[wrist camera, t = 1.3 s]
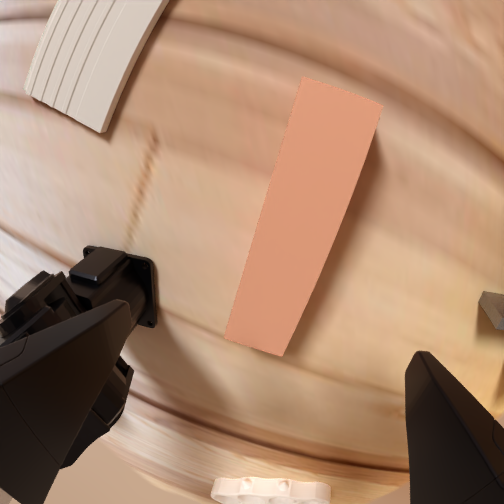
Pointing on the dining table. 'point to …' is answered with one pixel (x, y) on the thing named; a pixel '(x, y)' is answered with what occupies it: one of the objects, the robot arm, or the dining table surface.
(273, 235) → the rail
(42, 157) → the dining table surface
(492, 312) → the bracket
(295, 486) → the knuckle duster
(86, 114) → the baseboard
